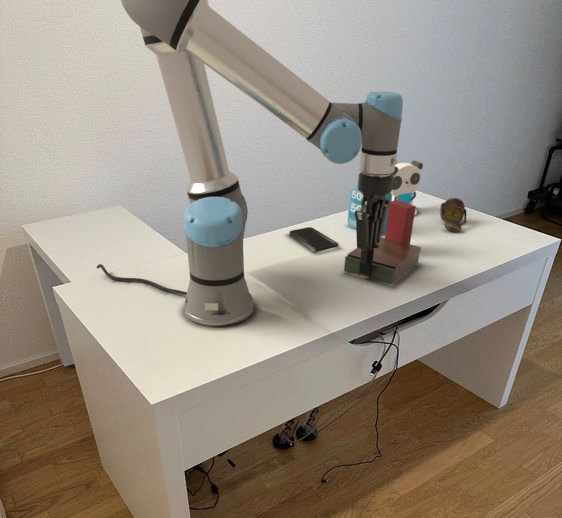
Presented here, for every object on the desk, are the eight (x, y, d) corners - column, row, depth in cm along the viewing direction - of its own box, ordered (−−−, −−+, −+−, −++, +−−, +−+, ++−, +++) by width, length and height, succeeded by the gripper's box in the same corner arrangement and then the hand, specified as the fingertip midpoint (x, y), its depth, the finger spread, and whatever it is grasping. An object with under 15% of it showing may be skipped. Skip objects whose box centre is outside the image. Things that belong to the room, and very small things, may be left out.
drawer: (388, 290, 129) (390, 272, 126) (340, 276, 135) (342, 258, 132) (416, 265, 140) (419, 249, 137) (371, 254, 146) (373, 237, 143)
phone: (310, 226, 160) (339, 244, 149) (310, 230, 160) (339, 247, 150) (287, 231, 157) (315, 249, 146) (287, 235, 157) (315, 253, 147)
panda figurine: (393, 219, 169) (399, 170, 160) (373, 208, 177) (378, 161, 168) (424, 214, 173) (432, 165, 164) (403, 203, 181) (409, 157, 172)
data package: (346, 225, 164) (350, 185, 157) (356, 222, 167) (359, 182, 160) (378, 236, 157) (383, 195, 150) (387, 232, 160) (393, 191, 153)
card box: (383, 248, 150) (389, 201, 143) (391, 245, 152) (397, 199, 144) (400, 256, 146) (407, 208, 138) (408, 253, 148) (415, 206, 140)
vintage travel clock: (479, 204, 164) (449, 192, 167) (467, 212, 155) (436, 199, 158) (468, 226, 169) (439, 213, 172) (456, 235, 159) (426, 221, 162)
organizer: (392, 287, 131) (395, 267, 128) (345, 273, 137) (347, 254, 134) (417, 266, 141) (420, 246, 138) (372, 254, 147) (374, 235, 144)
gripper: (379, 182, 110) (366, 287, 124) (404, 169, 119) (390, 269, 132) (347, 175, 114) (338, 279, 127) (374, 164, 123) (363, 262, 136)
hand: (365, 274), depth 130 cm, fingers closed
